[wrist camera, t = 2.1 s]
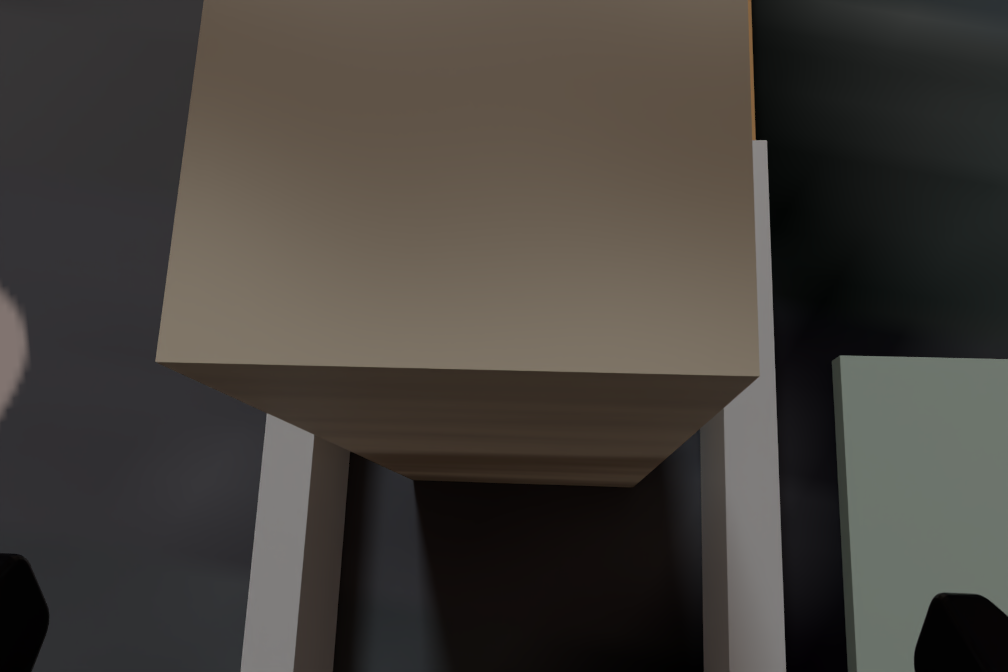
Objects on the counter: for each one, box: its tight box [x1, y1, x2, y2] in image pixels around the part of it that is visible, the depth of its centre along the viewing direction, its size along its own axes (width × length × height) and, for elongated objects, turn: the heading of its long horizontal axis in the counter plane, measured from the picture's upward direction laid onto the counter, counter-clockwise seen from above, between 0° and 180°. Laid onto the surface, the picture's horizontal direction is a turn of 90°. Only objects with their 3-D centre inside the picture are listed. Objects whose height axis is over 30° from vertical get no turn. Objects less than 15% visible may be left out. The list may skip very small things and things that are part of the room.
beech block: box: [155, 0, 760, 487], centre depth 14 cm, size 5×5×13 cm
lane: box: [241, 140, 786, 672], centre depth 18 cm, size 14×10×3 cm
